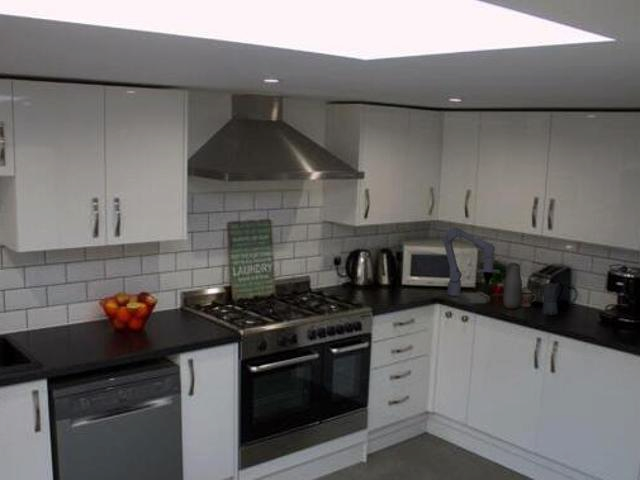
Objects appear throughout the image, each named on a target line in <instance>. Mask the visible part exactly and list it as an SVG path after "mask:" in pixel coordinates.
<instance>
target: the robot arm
mask: <svg viewBox="0 0 640 480" xmlns="http://www.w3.org/2000/svg"><path fill="white" fill-rule="evenodd" d="M456 238H463V239H465V240H467V241H469V242H471V243H472V244H473V245H474V247H476V248H478V249H480V250H481V251H484V258H483V259H484V260H483V261H484V262H483V268H482V269H476V273H477V274H482V275H483V277H484V281H485V282H484V283H485V285H490V283H491V282H490V281H491V279H492V277H493V276H494V274H500V269H494V258H495V257H494V255H495V253H494V252H495V251H496V248H495V246H494V244H492V243H490V242H487V241H485V240H484V239H483V238H482V237H481V238H480V237H479V238H476V237H474V236H473V235H471V234H469V233H468V232H466V231H465V230H463V229H461V228H459V227H455V226H454V227H452V228H450V229H448V230H447V232H446V234H445V236H444V239H443V245H444V248H445V253H446V254H445V255H446V257H447V261H448V265H449V281H448V283H447V291H446V294H447V295H449V296H451V297H453V296H454V297H455V296H460V297H461V287H462V286H461V285H462V280H461V278H462V275H463V274H462V272H461V271H460V268H459V266H458V263H457V257H456V256H455V255H456V254H455V251H454V247H453V242H454V240H455V239H456Z"/></svg>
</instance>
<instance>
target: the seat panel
mask: <svg viewBox="0 0 640 480" xmlns="http://www.w3.org/2000/svg"><path fill="white" fill-rule="evenodd" d="M460 294H461V296H460V297H461V298H462V299H464V300H465V301H466V302H469V303H470V304H486V303H487V302H486V299H485V298H484V297H482V296H480V295H479V294H477V292H460Z"/></svg>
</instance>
